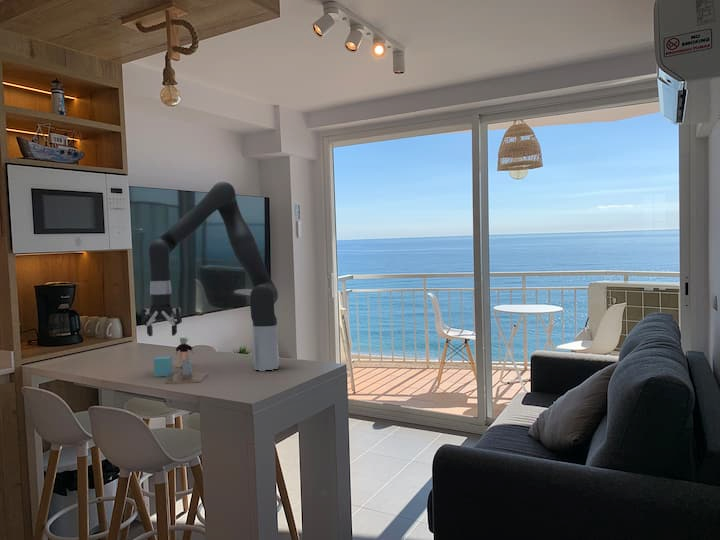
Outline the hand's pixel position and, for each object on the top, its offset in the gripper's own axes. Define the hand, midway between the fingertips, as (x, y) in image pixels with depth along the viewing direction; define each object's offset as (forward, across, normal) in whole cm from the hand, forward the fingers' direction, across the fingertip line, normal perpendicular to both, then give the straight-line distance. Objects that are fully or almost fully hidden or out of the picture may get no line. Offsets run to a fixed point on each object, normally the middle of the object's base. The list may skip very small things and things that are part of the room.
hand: (162, 335), depth 199 cm
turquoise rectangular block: (+15, 0, 0) cm, 15 cm away
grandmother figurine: (+15, -4, -14) cm, 21 cm away
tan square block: (+15, -11, +8) cm, 20 cm away
